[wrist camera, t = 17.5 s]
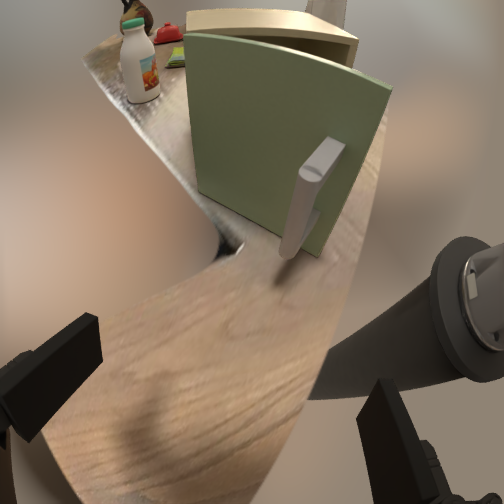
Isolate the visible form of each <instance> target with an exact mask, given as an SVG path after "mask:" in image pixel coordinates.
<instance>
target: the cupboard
mask: <svg viewBox="0 0 504 504" xmlns="http://www.w3.org/2000/svg"><path fill="white" fill-rule="evenodd" d="M186 31H187V33H202V34H212V35H221V36H228V37H235V38H242V39H247V40H253V41H258V42H263V43H268V44H272V45H277V46H281V47H285V48H289V49H293V50H297V51H300V52H304V53H307V54H310V55H314V56H317V57H320V58H323V59H326V60H329V61H332V62H335V63H338V64H340V65H343V66H346V67H349V68H351V69H352V67H353V63H354V59H355V55H356V51H357V46H358V43H359V39H358V38H356V37H354V36H352V35H351V34H348V33H347V32H345V31H343V30H341V29H340V28H338V27H336V26H334V25H332V24H330V23H328V22H326V21H324V20H322V19H319V18H317V17H315V16H313V15H311V14H308V13H305V12H295V11H287V10H274V9H249V8H247V9H245V8H235V9H211V10H198V11H188V12H187V23H186Z"/></svg>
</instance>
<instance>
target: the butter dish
mask: <svg viewBox="0 0 504 504" xmlns="http://www.w3.org/2000/svg"><path fill="white" fill-rule="evenodd" d="M182 38H183V34H181V33H180V32H179V29H178V27H177V26H171V25H170V23H169V22H168V23H165V26H164V27H162V28H160V29H158V31H157V38H155V39H154V43H155V44H157V43H159V44H161V43H167V42H173V41H178V40H180V39H182Z"/></svg>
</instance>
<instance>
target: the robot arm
mask: <svg viewBox="0 0 504 504" xmlns="http://www.w3.org/2000/svg"><path fill="white" fill-rule="evenodd" d="M458 299H459V304H460V309H461V313H462V316H463V319H464V321H465V324H466V326H467V328H468V330H469V332H470V334H471V336H472V337H473V339H474V340H475V341H476V342H477V344H478V345H479V346H480V347H482V348H483V349H484V350H486V351H488V352H491V353H498V352H501V351H503V350H504V243H502V244H499V245H496V246H494V247H491V248H488V249H485V250H483V251H480V252H477V253H475V254H474V255H472V256H471V257H470V258H469V259H468V260H467V261H466V262H465V263H464V264H463V265H462V267H461V270H460V272H459V277H458ZM102 362H103V357H102V350H101V342H100V333H99V323H98V317H97V316H94V315H92V314H89V313H87V312H86V313H84V314H83V315H82V316H80V317H79V318H77V319H76V320H75V321H73V322H72V323H71V324H69V325H68V326H66V327H65V328H64V329H62V330H61V331H60V332H58V333H57V334H56V335H54V336H53V337H51V338H50V339H49V340H47V341H46V342H45V343H44V344H42V345H41V346H40V347H38V348H37V349H36V350H34V351H31V350H29V351H26V352H23V353H20V354H19V355H18V356H17V357H15V358H14V359H13V361H10V362H9V363H7V365H5V366H4V367H2V368H1V369H0V504H17V500H16V495H15V488H14V481H13V473H12V462H11V445H10V444H11V443H10V430H9V426H10V425H12V426H13V428H14V430H15V431H16V433H17V434H18V435H19V436H21V437H22V438H23V439H24V440H26V441H27V442H28V443H30V441H31V440H32V439H33V438H34V437H35V436H36V435H37V433H38V432H39V431H40V430H41V429H42V428H43V427H44V425H45V424H46V423H47V422H48V421H49V420H50V419H51V418H52V416H53V415H54V414H55V413H56V412H57V411H58V410H59V409H60V408H61V406H62V405H63V404H64V403H65V402H66V401H67V400H68V399H69V398H70V397H71V395H72V394H73V393H74V392H75V391H76V390H77V389H78V388H79V387H80V386H81V385H82V384H83V382H84V381H85V380H86V379H87V378H88V377H89V376H90V375H91V374H92V373H93V372H94V371H95V370H96V369H97V368H98V366H99V365H100V364H101V363H102ZM356 421H357V425H358V429H359V433H360V438H361V442H362V447H363V451H364V456H365V460H366V465H367V470H368V475H369V480H370V486H371V491H372V496H373V502H374V504H502V499H501V498H500V496H499V495H497V494H496V493H488V494H487V495H486V496H484V497H483V498H482V499H481V500H478V501H465V500H464V498H463V497H461V496H459V495H455V494H452V492H451V490H450V488H449V485H448V482H447V480H446V477H445V474H444V472H443V470H442V467H441V466H440V462H439V460H438V459H437V455H436V452H435V450H434V448H433V447H432V446H431V444H430V443H429V442H428V441H427V440H421V441H420V440H419V437H418V435H417V433H416V430H415V428H414V425H413V423H412V421H411V418H410V416H409V414H408V412H407V409H406V407H405V405H404V403H403V401H402V398H401V396H400V394H399V392H398V390H397V387H396V385H395V383H394V381H393V379H382V378H379V379H378V381H377V382H376V384H375V386H374V388H373V390H372V392H371V394H370V395H369V397H368V399H367V401H366V403H365V404H364V406H363V408H362V409H361V411H360V413H359V414H358V416H357V418H356Z"/></svg>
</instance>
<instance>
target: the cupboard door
mask: <svg viewBox="0 0 504 504" xmlns="http://www.w3.org/2000/svg"><path fill="white" fill-rule="evenodd" d="M183 42H184V58H185V71H186V83H187V95H188V106H189V116H190V125H191V134H192V143H193V152H194V160H195V168H196V176H197V183H198V191H199V192H200V193H202V194H204V195H206V196H208V197H210V198H211V199H213V200H215V201H217V202H219V203H221V204H223V205H224V206H226V207H228V208H230V209H232V210H234V211H235V212H237V213H239V214H241V215H243V216H245V217H246V218H248V219H250V220H252V221H254V222H255V223H257V224H259V225H261V226H263V227H264V228H266V229H268V230H270V231H272V232H273V233H275V234H277V235H279V236H281V237H282V240H281V244H280V248H279V254H280V256H281V257H282V258H284V259H292V258H294V257H295V255H296V254H297V252H298V251H299V249H300V248H302V249H303V250H305V251H307V252H309V253H310V254H312V255H314V256H316V257H319V255H320V253H321V251H322V249H323V247H324V245H325V243H326V241H327V239H328V237H329V235H330V233H331V231H332V229H333V227H334V225H335V223H336V221H337V219H338V217H339V215H340V213H341V211H342V208H343V206H344V204H345V202H346V200H347V198H348V196H349V193H350V191H351V189H352V187H353V185H354V182H355V180H356V178H357V176H358V174H359V171H360V169H361V167H362V164H363V162H364V160H365V157H366V155H367V153H368V150H369V148H370V146H371V143H372V141H373V138H374V136H375V133H376V131H377V129H378V126H379V124H380V121H381V118H382V116H383V113H384V111H385V108H386V106H387V103H388V100H389V98H390V95H391V92H392V89H393V87H392V86H390V85H388V84H386V83H384V82H382V81H380V80H377V79H375V78H373V77H371V76H368V75H366V74H364V73H361V72H359V71H356V70H354V69H351V68H349V67H346V66H343V65H340V64H338V63H335V62H332V61H329V60H326V59H323V58H320V57H317V56H314V55H310V54H307V53H304V52H300V51H297V50H293V49H289V48H285V47H281V46H277V45H272V44H268V43H263V42H258V41H253V40H247V39H242V38H235V37H228V36H221V35H212V34H202V33H187V34H184V35H183Z"/></svg>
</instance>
